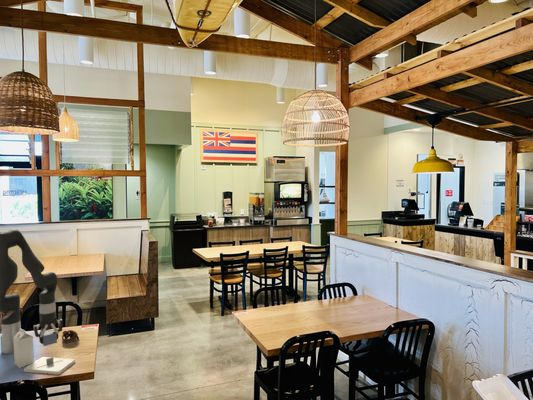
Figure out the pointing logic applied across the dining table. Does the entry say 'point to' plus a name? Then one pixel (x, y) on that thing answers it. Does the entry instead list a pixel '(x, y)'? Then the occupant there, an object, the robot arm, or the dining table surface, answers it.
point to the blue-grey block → (49, 338)
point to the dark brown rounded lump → (67, 334)
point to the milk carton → (23, 348)
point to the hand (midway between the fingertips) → (49, 341)
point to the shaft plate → (49, 365)
